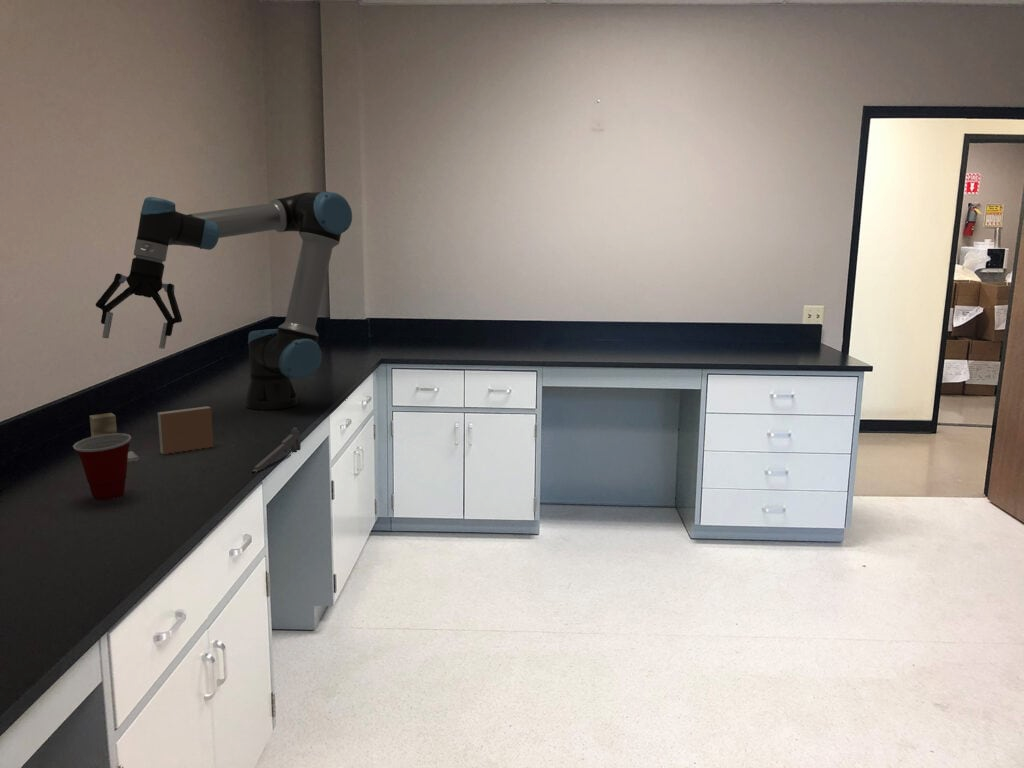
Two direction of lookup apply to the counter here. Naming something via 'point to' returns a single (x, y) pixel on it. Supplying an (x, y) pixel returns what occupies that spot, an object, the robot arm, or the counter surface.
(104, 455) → the plastic cup
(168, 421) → the tile
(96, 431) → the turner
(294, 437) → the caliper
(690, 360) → the counter surface
